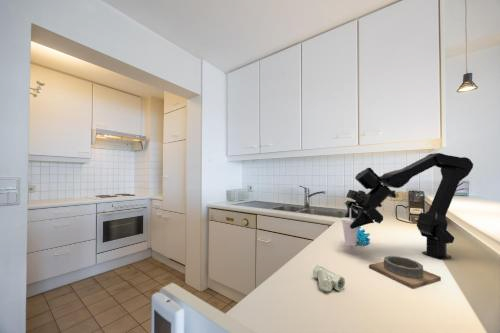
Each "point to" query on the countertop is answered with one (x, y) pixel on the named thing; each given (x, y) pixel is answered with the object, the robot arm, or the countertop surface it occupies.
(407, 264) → the collar stand
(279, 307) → the countertop surface
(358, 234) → the gear
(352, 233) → the smoothie
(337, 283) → the pipe fitting
